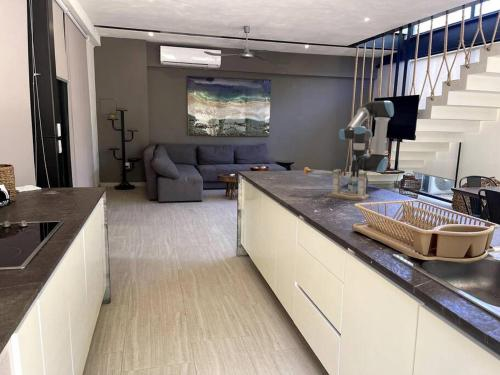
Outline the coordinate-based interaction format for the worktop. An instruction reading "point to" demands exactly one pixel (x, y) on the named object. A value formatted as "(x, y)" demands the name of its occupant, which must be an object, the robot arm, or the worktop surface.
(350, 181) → the light bulb box
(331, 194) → the cradle
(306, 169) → the lock shaft
